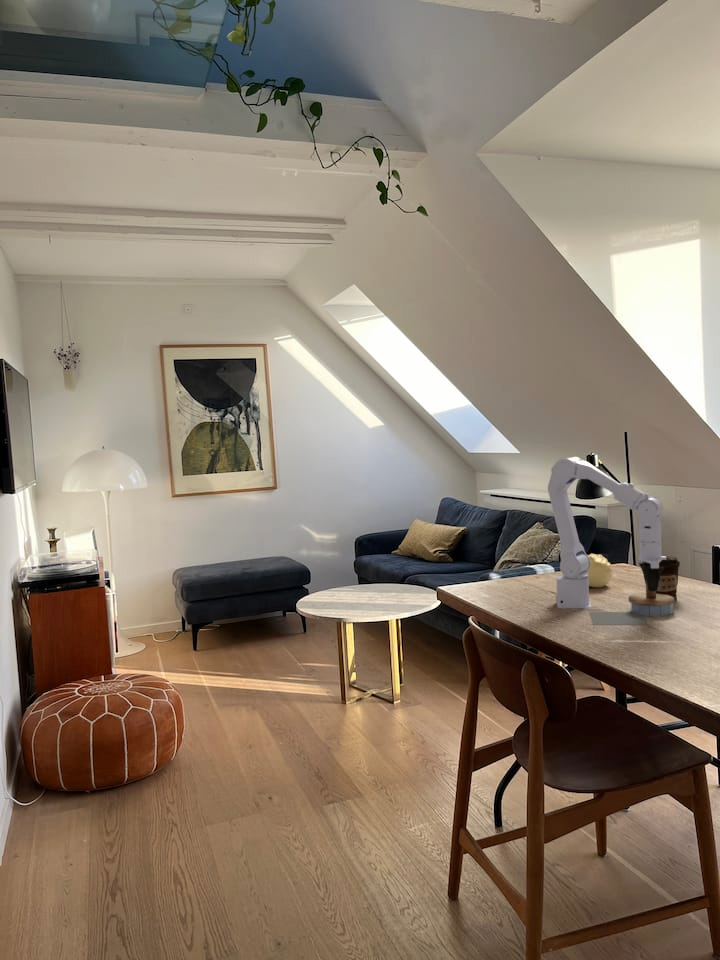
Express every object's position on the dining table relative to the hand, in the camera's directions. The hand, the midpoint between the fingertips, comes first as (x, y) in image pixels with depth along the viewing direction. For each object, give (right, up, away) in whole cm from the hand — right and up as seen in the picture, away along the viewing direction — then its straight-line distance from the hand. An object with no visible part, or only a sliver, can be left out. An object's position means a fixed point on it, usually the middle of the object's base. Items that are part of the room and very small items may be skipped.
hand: (651, 589), depth 215 cm
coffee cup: (+9, -6, +14) cm, 18 cm away
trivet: (-11, -8, -5) cm, 14 cm away
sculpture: (-4, -5, +39) cm, 40 cm away
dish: (0, -7, 0) cm, 7 cm away
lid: (0, -3, 0) cm, 3 cm away
